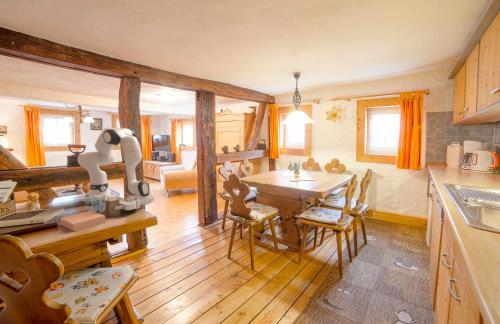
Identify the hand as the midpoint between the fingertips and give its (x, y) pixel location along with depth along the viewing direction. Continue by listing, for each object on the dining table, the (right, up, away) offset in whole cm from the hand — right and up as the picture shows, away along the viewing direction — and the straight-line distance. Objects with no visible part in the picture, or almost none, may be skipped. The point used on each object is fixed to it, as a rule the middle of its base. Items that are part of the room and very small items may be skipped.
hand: (111, 207), depth 153 cm
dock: (-9, -7, -13) cm, 17 cm away
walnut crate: (+1, -5, +1) cm, 6 cm away
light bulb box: (-15, -5, +8) cm, 17 cm away
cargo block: (0, +4, 0) cm, 4 cm away
